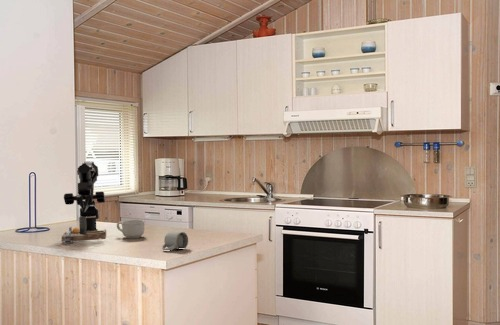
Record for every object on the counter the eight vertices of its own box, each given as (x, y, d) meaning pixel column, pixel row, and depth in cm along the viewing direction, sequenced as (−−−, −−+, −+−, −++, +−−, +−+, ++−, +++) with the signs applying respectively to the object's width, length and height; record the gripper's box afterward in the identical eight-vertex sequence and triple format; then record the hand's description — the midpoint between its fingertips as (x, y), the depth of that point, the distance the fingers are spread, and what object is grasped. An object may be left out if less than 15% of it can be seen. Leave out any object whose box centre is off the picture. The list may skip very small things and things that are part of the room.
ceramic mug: (175, 246, 233) (174, 229, 233) (189, 248, 229) (188, 230, 228) (157, 251, 225) (157, 233, 224) (171, 253, 220) (171, 235, 220)
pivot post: (61, 244, 242) (60, 238, 242) (62, 242, 247) (62, 236, 247) (72, 243, 243) (72, 237, 243) (73, 241, 248) (73, 235, 248)
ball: (77, 233, 260) (77, 226, 260) (80, 234, 257) (80, 227, 257) (71, 234, 258) (71, 227, 258) (74, 235, 255) (73, 228, 255)
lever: (62, 237, 243) (62, 218, 243) (67, 231, 258) (66, 214, 258) (86, 236, 245) (85, 217, 245) (89, 230, 260) (88, 213, 260)
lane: (61, 240, 252) (61, 234, 252) (64, 237, 261) (64, 231, 261) (105, 238, 256) (105, 232, 256) (106, 235, 265) (106, 229, 265)
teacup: (149, 236, 260) (148, 220, 259) (135, 240, 250) (135, 223, 249) (126, 234, 265) (125, 218, 265) (112, 238, 256) (111, 222, 255)
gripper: (63, 177, 256) (60, 203, 246) (103, 175, 259) (102, 200, 249) (66, 191, 264) (64, 216, 254) (105, 189, 268) (104, 214, 258)
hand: (83, 211), depth 254 cm, fingers closed
